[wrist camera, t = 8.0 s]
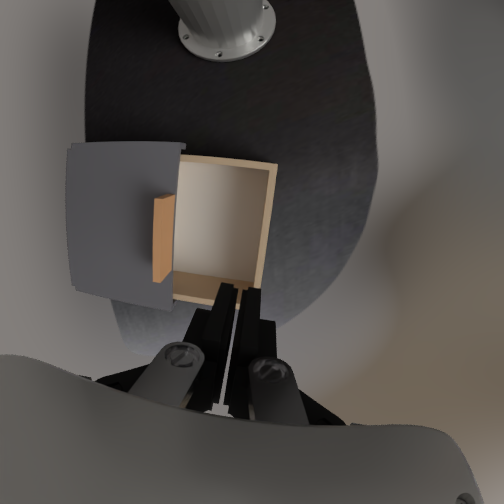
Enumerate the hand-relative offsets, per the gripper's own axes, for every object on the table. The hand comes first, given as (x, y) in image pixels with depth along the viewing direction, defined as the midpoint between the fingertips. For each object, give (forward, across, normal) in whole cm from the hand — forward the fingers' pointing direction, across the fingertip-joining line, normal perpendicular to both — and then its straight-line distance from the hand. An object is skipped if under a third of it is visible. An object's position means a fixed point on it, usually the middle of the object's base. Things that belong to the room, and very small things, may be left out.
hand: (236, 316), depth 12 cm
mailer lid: (+19, +15, +2) cm, 24 cm away
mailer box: (+24, +5, +2) cm, 25 cm away
